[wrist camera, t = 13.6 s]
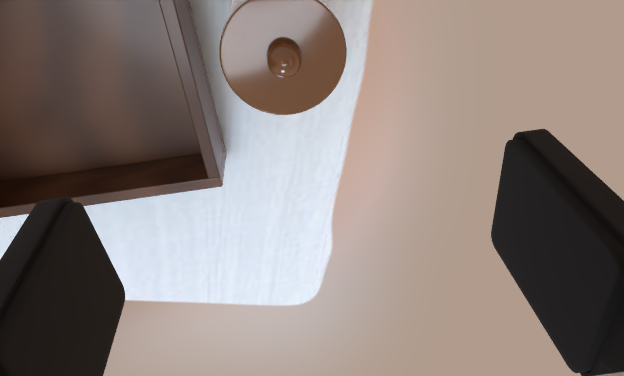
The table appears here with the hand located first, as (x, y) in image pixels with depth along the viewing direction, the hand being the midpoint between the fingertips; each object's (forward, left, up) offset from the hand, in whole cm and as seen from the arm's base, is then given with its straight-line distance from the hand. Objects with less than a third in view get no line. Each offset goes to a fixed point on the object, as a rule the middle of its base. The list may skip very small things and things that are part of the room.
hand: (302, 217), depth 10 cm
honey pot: (0, +1, -22) cm, 22 cm away
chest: (+14, -3, -22) cm, 26 cm away
